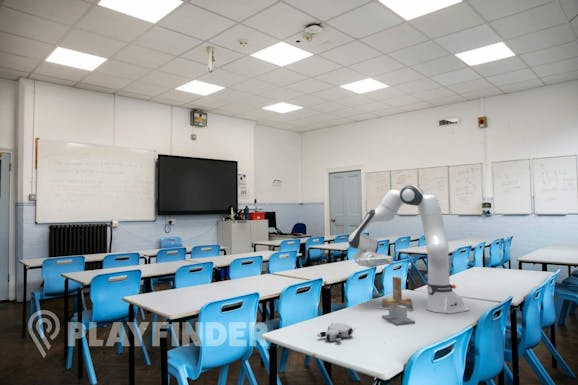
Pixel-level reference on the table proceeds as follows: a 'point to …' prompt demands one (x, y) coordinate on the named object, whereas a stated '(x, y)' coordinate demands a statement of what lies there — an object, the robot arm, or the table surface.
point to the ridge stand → (398, 315)
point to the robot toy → (337, 332)
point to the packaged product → (409, 306)
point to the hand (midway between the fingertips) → (382, 262)
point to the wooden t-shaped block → (397, 295)
